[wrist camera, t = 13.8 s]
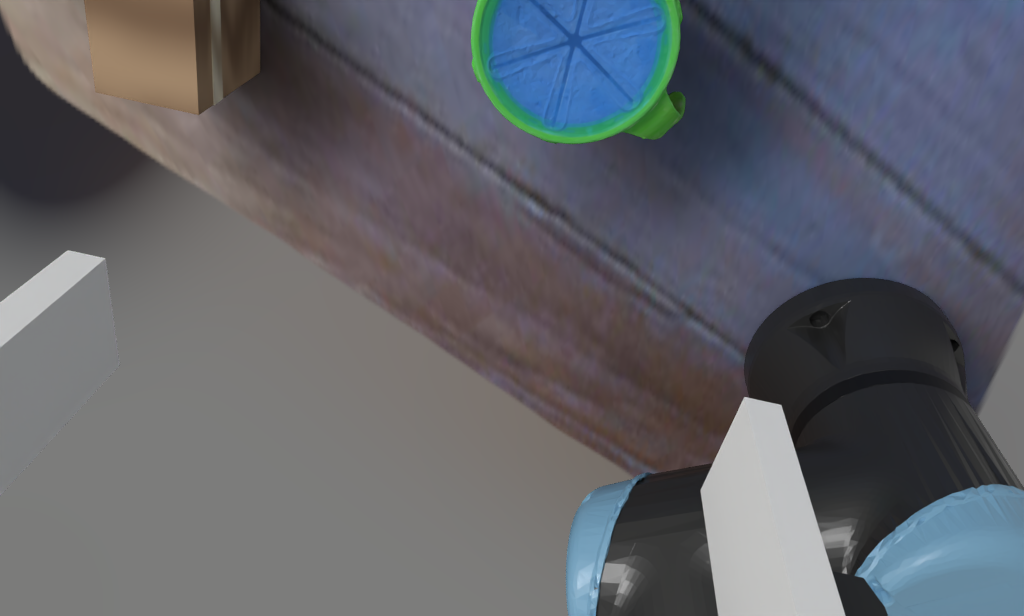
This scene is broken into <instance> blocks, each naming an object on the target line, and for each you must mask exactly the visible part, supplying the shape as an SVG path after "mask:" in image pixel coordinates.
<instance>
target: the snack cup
mask: <svg viewBox="0 0 1024 616" xmlns="http://www.w3.org/2000/svg"><path fill="white" fill-rule="evenodd" d="M682 20H683V15H682V9H681V5H680V1H679V0H478V1H477V5H476V8H475V12H474V16H473V23H472V31H471V47H472V55H473V60H472V67H473V70H474V73H475V76H476V78H477V81H478V82H480V83H481V85H482V87H483V89H484V91H485V93H486V94H487V96H488V98H489V99H490V101H491V102H492V103H493V105H494V106H495V108H496V109H497V110H498V111H499V112H500V113H501V114H502V115H503V116H504V117H505V118H506V119H507V120H509V121H510V122H511V123H512V124H514V125H515V126H517V127H518V128H520V129H521V130H523V131H525V132H527V133H529V134H531V135H533V136H536V137H538V138H540V139H541V140H544V141H546V142H550V143H555V144H556V143H564V144H583V143H590V142H595V141H599V140H603V139H606V138H609V137H611V136H614V135H616V134H618V133H620V132H625V133H629V134H632V135H635V136H638V137H641V138H643V139H646V138H647V139H651V140H655V139H658V138H661V137H662V136H663V135H664V134H666V133H667V131H668V130H669V129H670V128H672V127H673V125H675V124H677V123H678V122H679V120H680V119H681V118H682V117H683V114H684V111H685V100H686V99H685V97H684V95H683V94H682V93H681V92H672V93H671V94H669V95H668V94H667V85H668V83H669V81H670V79H671V77H672V75H673V72H674V69H675V66H676V62H677V59H678V54H679V50H680V40H681V34H680V24H681V22H682Z"/></svg>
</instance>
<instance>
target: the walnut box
mask: <svg viewBox="0 0 1024 616" xmlns="http://www.w3.org/2000/svg"><path fill="white" fill-rule="evenodd" d="M84 4H85V12H86V20H87V28H88V36H89V44H90V52H91V60H92V68H93V76H94V84H95V92H97V93H101V94H106V95H110V96H115V97H119V98H124V99H128V100H133V101H138V102H142V103H147V104H151V105H156V106H160V107H165V108H170V109H174V110H179V111H183V112H188V113H192V114H197V115H199V114H201V113H202V112H204V111H205V110H207V109H208V108H209V107H211V106H212V105H213V106H215V105H216V104H217V103H219V102H220V101H222V100H223V98H224V97H225V96H227V95H228V94H230V93H231V92H233V91H234V90H236V89H237V88H238V87H240V86H241V85H243V84H244V83H246V82H247V81H249V80H250V79H251V78H253V77H254V76H256V75H257V74H259V73H260V0H84Z"/></svg>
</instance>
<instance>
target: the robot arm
mask: <svg viewBox="0 0 1024 616" xmlns="http://www.w3.org/2000/svg"><path fill="white" fill-rule="evenodd" d="M119 366H120V363H119V355H118V348H117V340H116V333H115V325H114V318H113V311H112V304H111V296H110V289H109V281H108V274H107V266H106V259H105V258H101V257H96V256H92V255H87V254H83V253H78V252H74V251H66V252H65V253H64V254H62V255H61V256H60V257H59V258H57V259H56V260H55V261H53V262H52V263H51V264H49V265H48V266H47V267H46V268H44V269H43V270H42V271H40V272H39V273H38V274H37V275H35V276H34V277H33V278H31V279H30V280H29V281H28V282H26V283H25V284H24V285H22V286H21V287H20V288H19V289H17V290H16V291H15V292H13V293H12V294H11V295H9V296H8V297H7V298H6V299H4V300H3V301H2V302H0V496H1V494H2V493H3V492H4V491H5V490H6V489H7V488H8V487H9V486H10V485H11V484H12V483H13V481H14V480H15V479H16V478H17V477H18V476H19V475H20V474H21V473H22V472H23V471H24V469H25V468H26V467H27V466H28V465H29V464H30V463H31V462H32V461H33V460H34V459H35V457H36V456H37V455H38V454H39V453H40V452H41V451H42V450H43V449H44V448H45V446H46V445H47V444H48V443H49V442H50V441H51V440H52V439H53V438H54V437H55V435H57V433H58V432H59V431H60V430H61V429H62V428H63V427H64V426H65V425H66V423H67V422H68V421H69V420H70V419H71V418H72V417H73V416H74V415H75V413H76V412H78V410H79V409H80V408H81V407H82V406H83V405H84V404H85V403H86V402H87V401H88V400H89V398H90V397H91V396H92V395H93V394H94V393H95V392H96V391H97V390H98V389H99V388H100V386H101V385H102V384H103V383H104V382H105V381H106V380H107V379H108V378H109V377H110V376H111V374H112V373H113V372H114V371H115V370H116V369H117V368H118V367H119ZM744 375H745V381H746V386H747V390H748V393H749V397H750V398H747V397H744V399H743V401H742V403H741V405H740V407H739V410H738V412H737V414H736V416H735V418H734V420H733V422H732V424H731V427H730V429H729V431H728V433H727V435H726V437H725V439H724V441H723V444H722V446H721V448H720V450H719V452H718V454H717V456H716V458H715V461H714V463H712V464H706V465H700V466H695V467H689V468H684V469H678V470H672V471H667V472H661V473H656V474H651V473H643V474H640V475H638V476H636V477H635V478H634V479H631V480H627V481H623V482H618V483H614V484H610V485H606V486H602V487H599V488H597V489H595V490H594V491H592V492H591V493H589V494H588V495H587V497H586V498H585V499H584V500H583V502H582V504H581V506H580V507H579V508H578V510H577V512H576V514H575V517H574V520H573V523H572V527H571V531H570V536H569V542H568V549H567V562H566V596H567V609H568V615H569V616H1024V487H1023V486H1022V484H1021V483H1020V481H1019V479H1018V478H1017V476H1016V475H1015V474H1014V472H1013V470H1012V469H1011V467H1010V466H1009V465H1008V463H1007V461H1006V459H1005V458H1004V457H1003V455H1002V453H1001V452H1000V450H999V449H998V447H997V446H996V444H995V442H994V441H993V439H992V438H991V436H990V435H989V433H988V432H987V430H986V429H985V427H984V425H983V424H982V423H981V421H980V419H979V418H978V416H977V415H976V413H975V412H974V410H973V409H972V407H971V405H970V404H969V402H968V399H967V387H966V374H965V362H964V354H963V349H962V345H961V342H960V340H959V337H958V335H957V333H956V331H955V329H954V328H953V326H952V325H951V323H950V322H949V320H948V319H947V318H946V316H945V315H944V313H943V312H942V311H941V309H940V308H939V307H938V306H937V305H936V304H935V303H934V302H933V301H932V300H931V299H930V298H928V297H927V296H926V295H924V294H923V293H921V292H919V291H918V290H916V289H914V288H911V287H909V286H907V285H904V284H901V283H898V282H894V281H889V280H884V279H875V278H855V279H845V280H839V281H834V282H830V283H826V284H823V285H820V286H817V287H814V288H811V289H809V290H807V291H804V292H802V293H800V294H798V295H797V296H795V297H793V298H791V299H790V300H788V301H787V302H785V303H784V304H782V305H781V306H780V307H778V308H777V309H776V310H775V311H774V312H773V313H772V314H770V315H769V316H768V317H767V319H766V320H765V321H764V322H763V323H762V324H761V326H760V327H759V328H758V330H757V331H756V333H755V334H754V336H753V338H752V340H751V342H750V344H749V347H748V350H747V353H746V357H745V364H744Z"/></svg>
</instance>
